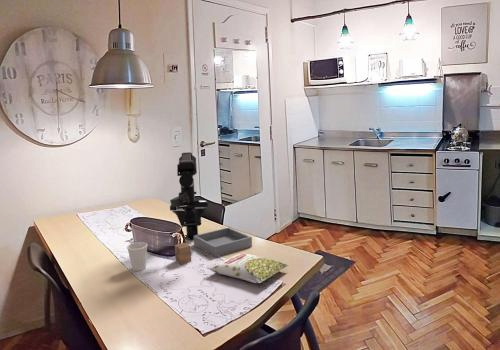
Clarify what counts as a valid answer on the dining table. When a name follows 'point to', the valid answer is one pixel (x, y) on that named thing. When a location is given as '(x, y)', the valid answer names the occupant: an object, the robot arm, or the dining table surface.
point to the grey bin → (222, 241)
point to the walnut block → (182, 253)
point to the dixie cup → (138, 255)
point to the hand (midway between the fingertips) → (189, 225)
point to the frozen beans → (248, 267)
